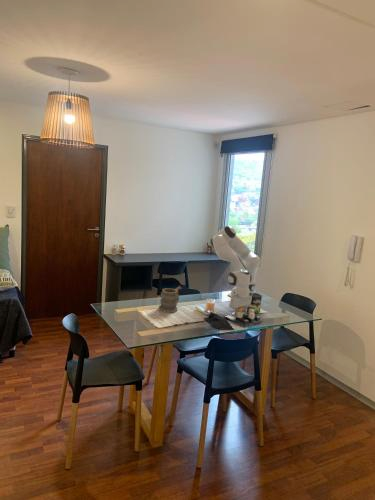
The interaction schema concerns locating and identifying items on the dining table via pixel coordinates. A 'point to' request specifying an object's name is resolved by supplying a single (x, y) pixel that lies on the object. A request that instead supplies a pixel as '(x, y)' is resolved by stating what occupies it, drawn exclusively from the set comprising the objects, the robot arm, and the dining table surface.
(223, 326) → the dark slate chunk
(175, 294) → the tankard
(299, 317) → the dining table surface
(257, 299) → the coffee can
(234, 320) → the breaker panel
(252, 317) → the toggle tagged
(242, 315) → the toggle left
